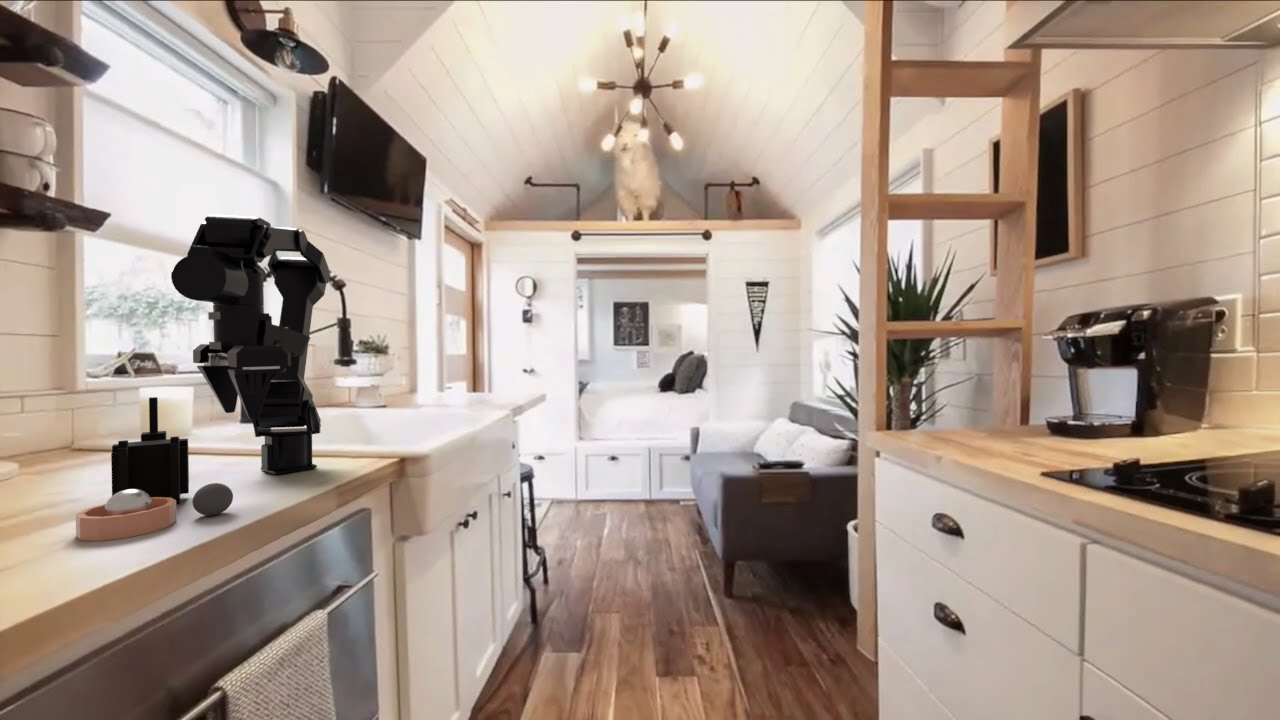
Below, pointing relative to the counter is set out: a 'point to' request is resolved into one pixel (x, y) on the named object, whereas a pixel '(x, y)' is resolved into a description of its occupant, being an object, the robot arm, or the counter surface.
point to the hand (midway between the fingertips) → (241, 415)
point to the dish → (125, 521)
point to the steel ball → (128, 502)
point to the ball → (212, 499)
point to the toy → (152, 462)
